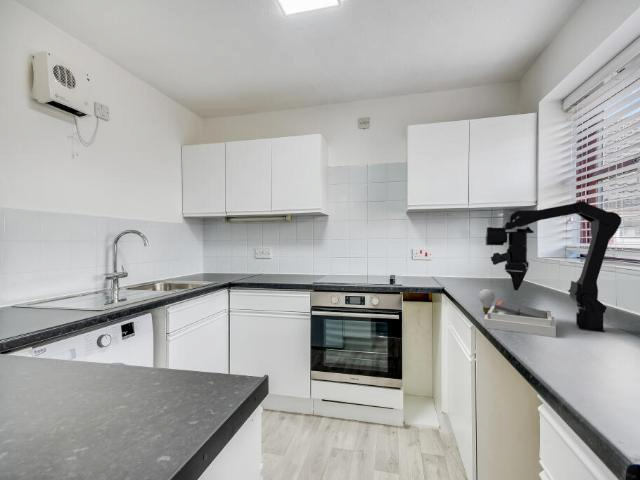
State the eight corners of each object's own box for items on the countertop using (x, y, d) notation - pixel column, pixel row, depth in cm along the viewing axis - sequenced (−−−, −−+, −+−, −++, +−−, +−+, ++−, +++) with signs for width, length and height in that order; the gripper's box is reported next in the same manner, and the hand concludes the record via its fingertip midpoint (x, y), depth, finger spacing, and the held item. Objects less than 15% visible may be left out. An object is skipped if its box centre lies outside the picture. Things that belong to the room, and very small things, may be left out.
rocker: (542, 314, 112) (543, 310, 112) (542, 322, 102) (543, 317, 102) (498, 302, 120) (498, 299, 120) (494, 308, 110) (495, 304, 110)
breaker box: (554, 325, 112) (553, 311, 112) (555, 337, 99) (555, 321, 99) (489, 317, 123) (489, 304, 123) (483, 327, 110) (483, 312, 110)
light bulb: (491, 312, 133) (491, 288, 133) (497, 315, 127) (497, 290, 127) (476, 311, 134) (476, 287, 134) (482, 315, 128) (481, 290, 128)
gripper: (495, 244, 128) (495, 283, 128) (488, 245, 113) (488, 289, 113) (529, 245, 122) (528, 286, 122) (526, 246, 107) (525, 293, 107)
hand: (517, 288), depth 116 cm, fingers open, 9 cm apart
